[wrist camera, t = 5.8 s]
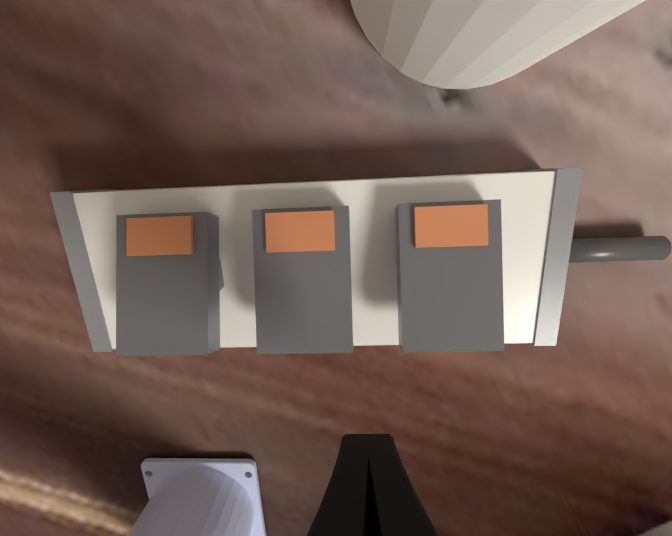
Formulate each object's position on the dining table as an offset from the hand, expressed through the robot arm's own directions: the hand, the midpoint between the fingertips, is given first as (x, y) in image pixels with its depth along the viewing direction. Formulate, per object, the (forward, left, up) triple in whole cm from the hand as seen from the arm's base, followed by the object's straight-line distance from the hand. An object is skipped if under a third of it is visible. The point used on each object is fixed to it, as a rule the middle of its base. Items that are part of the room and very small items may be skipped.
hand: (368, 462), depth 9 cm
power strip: (+4, 0, -10) cm, 11 cm away
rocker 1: (+4, +8, -6) cm, 11 cm away
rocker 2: (+4, +2, -6) cm, 7 cm away
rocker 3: (+4, -4, -6) cm, 8 cm away
